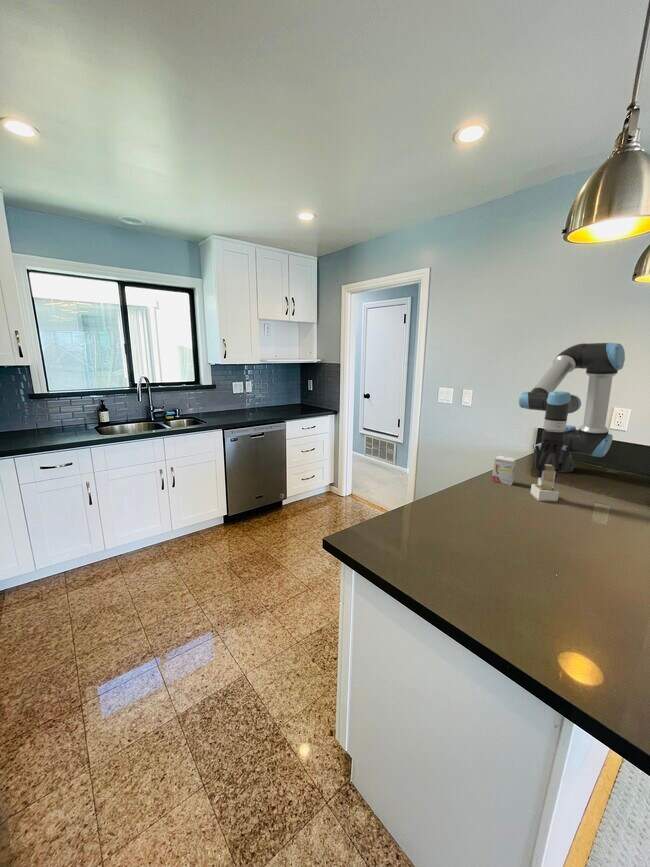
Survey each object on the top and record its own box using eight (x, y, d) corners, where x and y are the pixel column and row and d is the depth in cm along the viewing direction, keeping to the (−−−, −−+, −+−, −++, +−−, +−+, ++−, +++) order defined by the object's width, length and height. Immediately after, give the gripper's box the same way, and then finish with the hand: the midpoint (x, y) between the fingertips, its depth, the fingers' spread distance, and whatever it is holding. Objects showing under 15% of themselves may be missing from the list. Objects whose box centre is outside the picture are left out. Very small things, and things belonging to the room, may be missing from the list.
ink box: (491, 481, 166) (494, 457, 164) (494, 478, 170) (496, 455, 168) (511, 485, 161) (514, 460, 159) (513, 482, 165) (516, 458, 162)
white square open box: (530, 494, 151) (531, 484, 150) (548, 495, 150) (550, 485, 149) (538, 500, 144) (539, 490, 143) (557, 501, 143) (559, 491, 142)
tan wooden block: (537, 491, 149) (541, 464, 146) (546, 491, 148) (550, 464, 146) (541, 494, 145) (546, 466, 143) (550, 494, 145) (555, 467, 142)
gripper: (536, 431, 138) (528, 487, 143) (581, 432, 136) (571, 489, 141) (528, 427, 145) (520, 480, 151) (570, 428, 143) (561, 482, 149)
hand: (545, 484), depth 146 cm, fingers closed on tan wooden block, 3 cm apart
